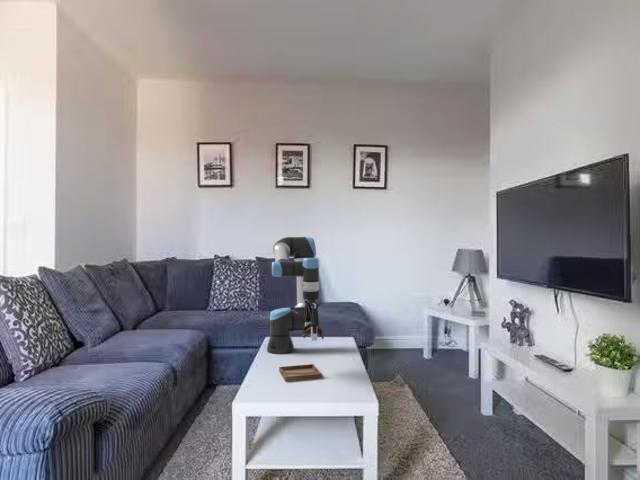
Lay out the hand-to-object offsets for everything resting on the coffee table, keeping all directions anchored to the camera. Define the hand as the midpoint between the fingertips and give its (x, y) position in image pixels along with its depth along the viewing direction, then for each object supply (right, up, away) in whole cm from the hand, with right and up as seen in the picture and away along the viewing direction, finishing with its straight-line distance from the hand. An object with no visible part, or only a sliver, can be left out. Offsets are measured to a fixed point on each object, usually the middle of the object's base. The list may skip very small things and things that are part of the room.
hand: (311, 337), depth 196 cm
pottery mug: (+1, -1, +1) cm, 2 cm away
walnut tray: (-5, -16, -5) cm, 17 cm away
